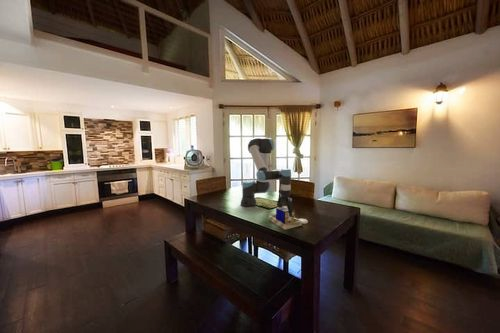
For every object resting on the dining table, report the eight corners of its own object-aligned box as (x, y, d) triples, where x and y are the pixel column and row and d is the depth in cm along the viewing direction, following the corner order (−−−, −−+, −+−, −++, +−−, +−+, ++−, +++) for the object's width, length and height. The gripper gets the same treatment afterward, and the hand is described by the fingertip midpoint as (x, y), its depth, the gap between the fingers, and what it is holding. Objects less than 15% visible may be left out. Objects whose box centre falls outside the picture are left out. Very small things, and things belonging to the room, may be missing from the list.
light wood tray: (268, 219, 164) (268, 215, 164) (284, 216, 171) (284, 212, 171) (284, 229, 146) (284, 225, 146) (301, 225, 153) (301, 221, 153)
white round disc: (294, 220, 162) (294, 219, 162) (302, 218, 165) (302, 218, 165) (301, 224, 155) (301, 223, 155) (310, 222, 158) (310, 221, 158)
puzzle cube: (275, 220, 160) (275, 208, 158) (285, 218, 165) (285, 205, 164) (284, 225, 151) (284, 212, 150) (294, 222, 157) (294, 209, 156)
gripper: (272, 186, 164) (272, 213, 167) (291, 193, 143) (290, 224, 146) (280, 185, 167) (279, 212, 170) (299, 192, 147) (298, 222, 149)
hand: (284, 217), depth 158 cm, fingers open, 11 cm apart
